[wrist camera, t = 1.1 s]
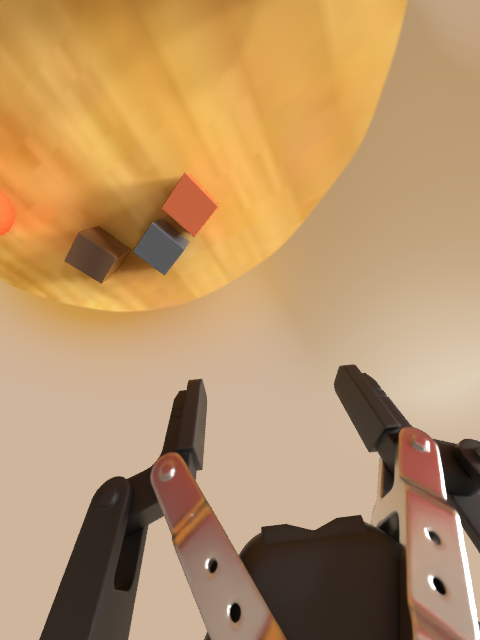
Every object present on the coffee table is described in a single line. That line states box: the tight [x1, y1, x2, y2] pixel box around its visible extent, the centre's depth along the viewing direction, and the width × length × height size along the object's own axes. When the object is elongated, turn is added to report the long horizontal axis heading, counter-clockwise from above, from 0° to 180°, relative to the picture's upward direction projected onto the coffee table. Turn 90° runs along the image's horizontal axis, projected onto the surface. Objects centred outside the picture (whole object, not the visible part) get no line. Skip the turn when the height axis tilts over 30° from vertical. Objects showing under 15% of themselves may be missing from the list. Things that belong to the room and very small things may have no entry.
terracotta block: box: [162, 173, 219, 237], centre depth 24 cm, size 4×4×4 cm
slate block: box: [133, 218, 189, 275], centre depth 27 cm, size 4×4×4 cm
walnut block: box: [65, 226, 130, 283], centre depth 27 cm, size 4×4×4 cm
